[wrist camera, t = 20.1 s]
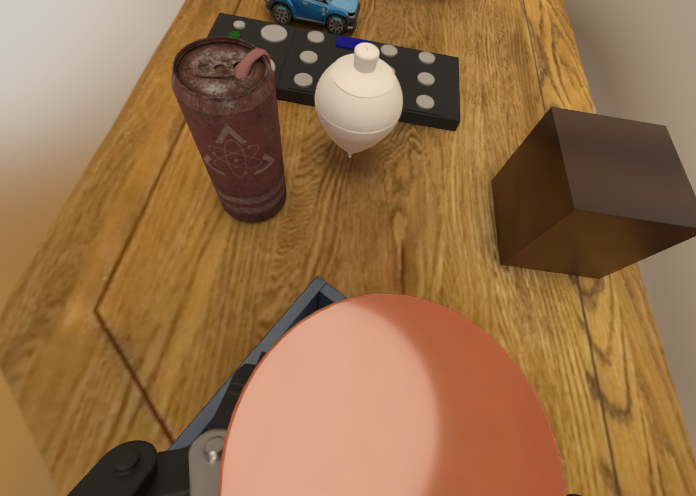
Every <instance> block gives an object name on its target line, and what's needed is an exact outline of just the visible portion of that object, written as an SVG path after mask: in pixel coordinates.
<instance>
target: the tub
mask: <svg viewBox="0 0 696 496" xmlns="http://www.w3.org/2000/svg"><path fill="white" fill-rule="evenodd" d="M344 299H347V298H346V297H345V296H344V295H342V294H341V293H340V292H338V291H337V290H336V289H335V288H333V287H332V286H331V285H329V284H328V283H326V282H325V281H324V280H323V279H321V278H320V277H319V276H316V278H315V279H314V280H313V281H312V282H311V283H310V285H309V286H308V287H307V288H306V289H305V290H304V292H303V293H302V294H301V295H300V296H299V297H298V299H297V300H296V301H295V302H294V303H293V304H292V306H291V307H290V308H289V309H288V310H287V311H286V313H285V314H284V315H283V316H282V317H281V318H280V319H279V321H278V322H277V323H276V324H275V325H274V326H273V328H272V329H271V330H270V331H269V332H268V333H267V335H266V336H265V337H264V338H263V339H262V340H261V342H260V343H259V344H258V345H257V346H256V347H255V349H254V350H253V351H252V352H251V353H250V354H249V356H248V357H247V358H246V359H245V360H244V361H243V363H242V364H241V365H240V366H239V367H238V368H237V370H238V369H239V368H240V367H241V366H243V365H244V364H245V363H247V364H254V365H256V364H257V362H258V359H259V357H260V354H261V352H262V351H263V352H267V351H268V350H269V349H270V348H271V347H272V346H273V345H274V344H275V342H276V341H277V340H278V339H279V338H280V337H281V336H282V335H283V334H284V333H286V332H287V331H288V330H289V329H290V328H292V327H293V326H294V325H295V324H297V323H298V322H299V321H301V320H302V319H304V318H305V317H307V316H309V315H310V314H312V313H313V312H315V311H317V310H319V309H321V308H323V307H325V306H328V305H330V304H332V303H334V302H338V301H341V300H344ZM237 370H236V371H237ZM236 371H235V372H236ZM235 372H234V373H235ZM234 373H233V374H232V375H231V377H230V378H229V379H228V380H227V381H226V382H225V384H224V385H223V386H222V387H221V388H220V389H219V391H218V392H217V393H216V394H215V395H214V396H213V397H212V399H211V400H210V401H209V402H208V403H207V404H206V406H205V407H204V408H203V409H202V410H201V411H200V413H199V414H198V415H197V416H196V417H195V418H194V420H193V421H192V422H191V423H190V424H189V425H188V427H187V428H186V429H185V430H184V431H183V432H182V434H181V435H180V436H179V437H178V438H177V439H176V441H175V442H174V443H173V444H172V445H171V446H170V448H169V449H168V450H167V451H169V450H175V449H180V448H184V447H186V446H189V445H191V444H192V443H193V442H194V441H195V439H196V438H197V437H199V436H200V435H201V434H203V433H205V432H206V431H207V430H208V428H209V426H210V424H211V422H212V420H213V417H214V415H215V413H216V411H217V409H218V407H219V405H220V403H221V401H222V398H223V396H224V394H225V393H226V390H227V388H228V386H229V385H230V382H231V380H232V377H233V375H234Z"/></svg>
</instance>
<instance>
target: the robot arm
mask: <svg viewBox="0 0 696 496" xmlns="http://www.w3.org/2000/svg"><path fill="white" fill-rule="evenodd" d="M265 354H266V352H263V351H262V352H261V354H260V357H259V359H258V362H257V364H258V363H259V362H260V360H261V359H262V358H263V356H264V355H265ZM257 364H256V365H254V364H247V363H245V364H244V365H243V366H241V367H240V368H239V369H238V370H237V371H236V372H235V373H234V375H233V377H232V380H231V382H230V385H229V386H228V388H227V390H226V393H225V394H224V396H223V398H222V401H221V403H220V405H219V407H218V409H217V411H216V413H215V415H214V417H213V420H212V422H211V424H210V426H209V428H208V430H207V431H206V432H205V433H203V434H201V435H200V436H199V437H197V438H196V439H195V441H194V442H193V443H192V444H191V445H189V446H186V447H184V448H180V449H175V450H169V451H164V452H158V453H157V452H156V449H155V447H154V446H153V445H152V444H151V443H149V442H146V441H141V440H136V441H130V442H126V443H123V444H121V445H119V446H117V447H115V448H113V449H112V450H110V451H109V452H108V453H106V454H105V455H104V456H103V457H102V458H101V460H100V461H99V462H98V463H97V464H96V465H95V466H94V467H93V468H92V469H91V470H90V471H89V473H88V474H87V475H86V476H85V477H84V478H83V479H82V480H81V481H80V482H79V483H78V484H77V485H76V487H75V488H74V489H73V490H72V491H71V492H70V493H69V494H68V495H67V496H218V484H219V469H220V461H221V456H222V450H223V445H224V440H225V436H226V432H227V429H228V426H229V422H230V419H231V416H232V413H233V410H234V408H235V406H236V403H237V401H238V399H239V396H240V394H241V392H242V389H243V388H244V386H245V384H246V382H247V381H248V379H249V377H250V375H251V374H252V372H253V370H254V369H255V367H256V366H257ZM566 496H580V495H577V494H568V495H566Z"/></svg>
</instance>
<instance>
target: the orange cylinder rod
mask: <svg viewBox="0 0 696 496" xmlns="http://www.w3.org/2000/svg"><path fill="white" fill-rule="evenodd" d="M218 496H566V492H565V481H564V475H563V470H562V465H561V460H560V455H559V451H558V448H557V444H556V441H555V438H554V434H553V431H552V428H551V426H550V423H549V421H548V418H547V416H546V414H545V411H544V409H543V406H542V405H541V403H540V401H539V399H538V397H537V395H536V393H535V391H534V389H533V388H532V386H531V384H530V383H529V381H528V380H527V378H526V377H525V375H524V374H523V372H522V371H521V369H520V368H519V367H518V365H517V364H516V363H515V362H514V360H513V359H512V358H511V357H510V356H509V354H508V353H507V352H506V351H505V350H504V349H503V348H502V347H501V346H500V345H499V344H498V343H497V342H496V341H495V340H494V339H493V338H492V337H491V336H490V335H489V334H487V333H486V332H485V331H484V330H482V329H481V328H480V327H479V326H477V325H476V324H475V323H473V322H472V321H470V320H469V319H467V318H465V317H464V316H462V315H461V314H459V313H457V312H455V311H453V310H451V309H449V308H447V307H445V306H443V305H440V304H437V303H434V302H431V301H429V300H426V299H422V298H418V297H413V296H408V295H401V294H389V293H384V294H367V295H361V296H356V297H350V298H347V299H344V300H341V301H338V302H334V303H332V304H330V305H328V306H325V307H323V308H321V309H319V310H317V311H315V312H313V313H312V314H310V315H309V316H307V317H305V318H304V319H302V320H301V321H299V322H298V323H297V324H295V325H294V326H293V327H292V328H290V329H289V330H288V331H287V332H286V333H284V334H283V335H282V336H281V337H280V338H279V339H278V340H277V341H276V342H275V344H274V345H273V346H272V347H271V348H270V349H269V350H268V351H267V352H266V354H265V355H264V356H263V358H262V359H261V360H260V362H259V363H258V364H257V366H256V367H255V369H254V370H253V372H252V374H251V375H250V377H249V379H248V381H247V382H246V384H245V386H244V388H243V389H242V392H241V394H240V396H239V399H238V401H237V403H236V406H235V408H234V410H233V413H232V416H231V419H230V422H229V426H228V429H227V432H226V436H225V440H224V445H223V450H222V456H221V461H220V469H219V484H218Z"/></svg>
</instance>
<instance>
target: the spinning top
mask: <svg viewBox="0 0 696 496" xmlns="http://www.w3.org/2000/svg"><path fill="white" fill-rule="evenodd" d="M379 54H380V52H379V49H378V48H377V47H376V46H375V45H373V44H371V43H360V44H358V45H357V46H356V47H355V49H354V54H348V55H345V56H342V57H340V58H339V59H338V60H336V61H335V62H334V63H333V64H332V65H330V66H329V67H328V68H327V69H326V70H325V72H324V73H323V74H322V76H321V77H320V79H319V81H318V84H317V87H316V91H315V108H316V113H317V116H318V118H319V121H320V123H321V124H322V126H323V128H324V129H325V131H326V132H327V134H328V135H329V137H330V138H331V139H332V140H333V141H334V142H335V143H336V144H337V145H338V146H339V147H340V148H342V149H343V150H344V151H346V152H348V157H349V158H351V156H352V153H357V152H361V151H363V150H365V149H368V148H370V147H372V146H374V145H375V144H377V143H378V142H380V141H381V140H382V139H383V138H385V137H386V136H387V135H388V134H389V133H390V132H391V131H392V130H393V128H394V127H395V125H396V124H397V122H398V120H399V118H400V115H401V112H402V106H403V95H402V90H401V87H400V84H399V82H398V80H397V78H396V76H395V74H394V73H393V71H392V69H391V68H390V66H389V65H388V64H387V63H385V62H384V61H383V60H381V59H379Z"/></svg>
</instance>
